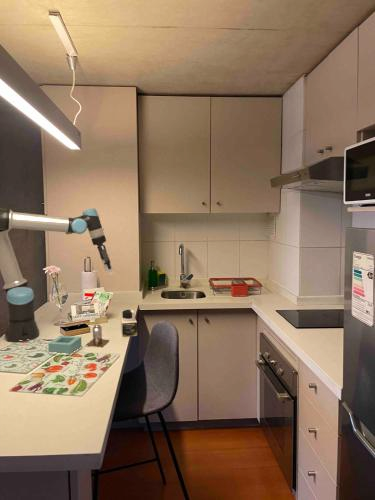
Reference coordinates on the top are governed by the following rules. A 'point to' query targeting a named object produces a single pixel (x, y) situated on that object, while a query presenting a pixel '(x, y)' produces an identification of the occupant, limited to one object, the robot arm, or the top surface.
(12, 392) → the top surface
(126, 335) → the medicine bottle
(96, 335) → the post
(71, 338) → the collar
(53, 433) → the top surface
